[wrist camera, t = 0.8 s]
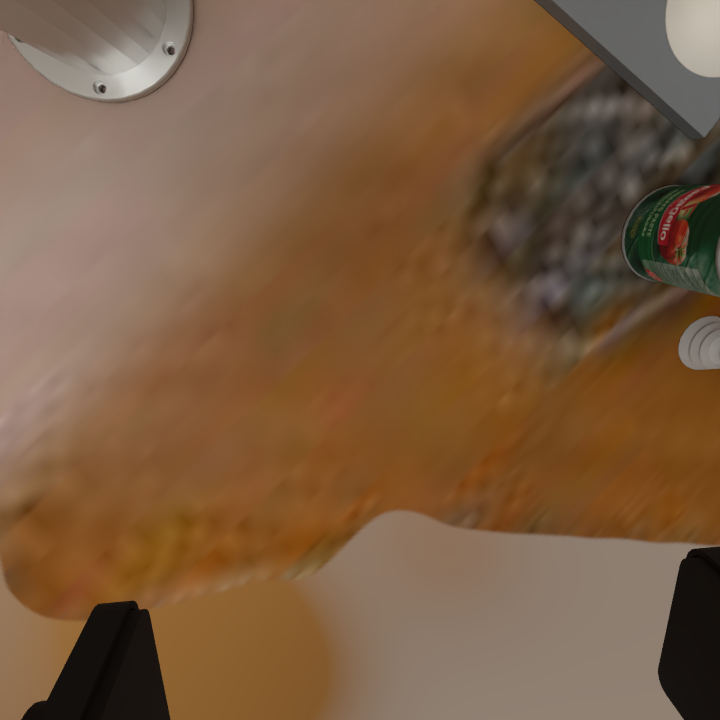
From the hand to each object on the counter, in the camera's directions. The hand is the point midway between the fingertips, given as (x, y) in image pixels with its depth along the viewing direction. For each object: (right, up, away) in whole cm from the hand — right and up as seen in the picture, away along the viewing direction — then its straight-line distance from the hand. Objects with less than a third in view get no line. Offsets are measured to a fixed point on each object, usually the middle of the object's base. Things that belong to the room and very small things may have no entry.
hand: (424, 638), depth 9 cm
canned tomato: (+25, +16, +35) cm, 45 cm away
